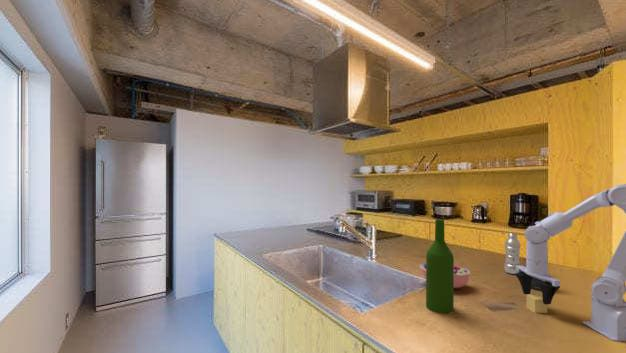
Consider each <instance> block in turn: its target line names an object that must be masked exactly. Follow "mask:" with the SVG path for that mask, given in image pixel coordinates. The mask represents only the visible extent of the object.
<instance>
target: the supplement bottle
mask: <svg viewBox="0 0 626 353" xmlns="http://www.w3.org/2000/svg"><path fill="white" fill-rule="evenodd" d="M539 283H545V281H542V280H540V279H537V278H535V277H533V279H532V283H531V290H532V291H537V292H542V290H541V287H540V284H539Z"/></svg>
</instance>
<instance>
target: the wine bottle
mask: <svg viewBox="0 0 626 353" xmlns="http://www.w3.org/2000/svg"><path fill="white" fill-rule="evenodd" d="M445 238H446V237H445V219H441V218H437V219H435V221H434V241H433V243H432V244H431V245H430V247H428V250H427V252H426V255H425V263H426V279H425V297H426V298H425V307H426V308H427V310H429V311H431V312H434V313H438V314H443V315H449V314H452V313H454V308H455V307H454V304H455V302H454V300H455V299H454V298H455V296H454V289H455V288H454V265H455V263H454V262H455V261H454V254H453V252H452V251H451V249H450V248H449V246H448V245H447V243H446V241H445V240H446V239H445Z"/></svg>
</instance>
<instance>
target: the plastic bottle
mask: <svg viewBox="0 0 626 353" xmlns="http://www.w3.org/2000/svg"><path fill="white" fill-rule="evenodd" d="M521 245H522V244H521V241H519V240H518V233H517V232H512V231H511V232H508V233H507V238H506V240H505V241H504V248H505V263H504V267H503V268H504V270H505V272H506V273H508V274H509V275H516V273H519V272H518V271H516V266H521V265H520V250H521Z"/></svg>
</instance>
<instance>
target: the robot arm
mask: <svg viewBox="0 0 626 353" xmlns="http://www.w3.org/2000/svg"><path fill="white" fill-rule="evenodd" d="M613 206H616V207H617V208H619V209H620V210H622V211H623V212H624V214H626V183H622V184H616V185H614V186H612V187H610V189H609V188H608V189H606V190H603V191H601V192H598V193H596V194H593V195H592V196H590V197H588V198H586V199H584V200H583V201H581V202H580V203H578V204H577V205H575V206H574V207H572V208H570V209H568V210H567V211H565V212H561V211H556V212H550V213H548V215H547V216H546V217H545V218H544V219H542V220H540V221H539V220H538V221H536V222H534V224H535V225H530V226H528V227H527V228H526V229H525V230H524V238H525V240H526V255H525V256H526V261H525V262H526V264H525V265H526V266H523V265H520V266H516V271H518V272H519V273H516V274H515V276H516V278H517V279H518V281H519V284H520V287H521V289H522V290H521V291H522V293H523V294H524V295H527V294H531V291H532V289H531V283H532V279H533V277H535V278H537V279H540V280H542V281H545V283H539V284H540V287H541V290H542V291H541V293H542V297H543V304H547V305H551V304H552V301H553V298H554V296H555V294H556V293H557V291H558V290H559V289H560V288H561V280H560V279H557V278H556V277H554V276H552V275H550V272H548V266H549V264H548V263H549V262H548V261H549V260H548V259H549V258H548V254H549V253H548V250H549V249H548V240H549V239H550V237H555V236H556V235H558V234H560V233H562V232H564V231H566V230H568V229H570V228H572V226H573V222H574V221H575V220H576V219H578V218H580V217H582V216H584V215H587V214H589V213H590V212H591V213H592V212H593V211H595V210H596V209H599V208H607V207H613ZM590 292H591V295H590V297H591V298H590V299H591V300H590V301H591V304H590V307H591V308H590V311H591V312H590V313H591V314H590V315H591V316H590V319H591V320H590V321H587V320H585V321H582V324H584V325H586V326H587V327H589V328H590V329H592V330H594V331H596V332H598V333H600V334H601V335H603V336H604V337H606V338H608V339H610V340H612V341H613V342H616V341H617V342H626V300H625V299H624V295H625V294H626V230H625V231H624V233H623V235H622V237H621V239H620V241H619V243H618V245H617V247H616V249H615V251H614V253H613V255H612V256H611V259H610V260H609V263H608V265H607V267H606V268H605V270H604V272H603V273H602V275H599V276H598V278H596V280H595V282H594V283H592V285H591V286H590Z"/></svg>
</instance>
